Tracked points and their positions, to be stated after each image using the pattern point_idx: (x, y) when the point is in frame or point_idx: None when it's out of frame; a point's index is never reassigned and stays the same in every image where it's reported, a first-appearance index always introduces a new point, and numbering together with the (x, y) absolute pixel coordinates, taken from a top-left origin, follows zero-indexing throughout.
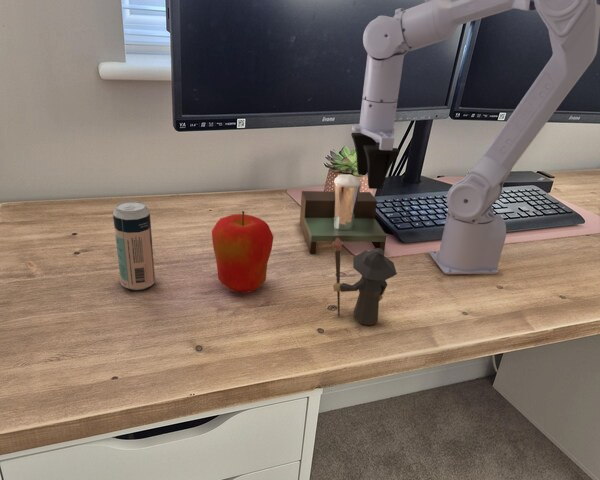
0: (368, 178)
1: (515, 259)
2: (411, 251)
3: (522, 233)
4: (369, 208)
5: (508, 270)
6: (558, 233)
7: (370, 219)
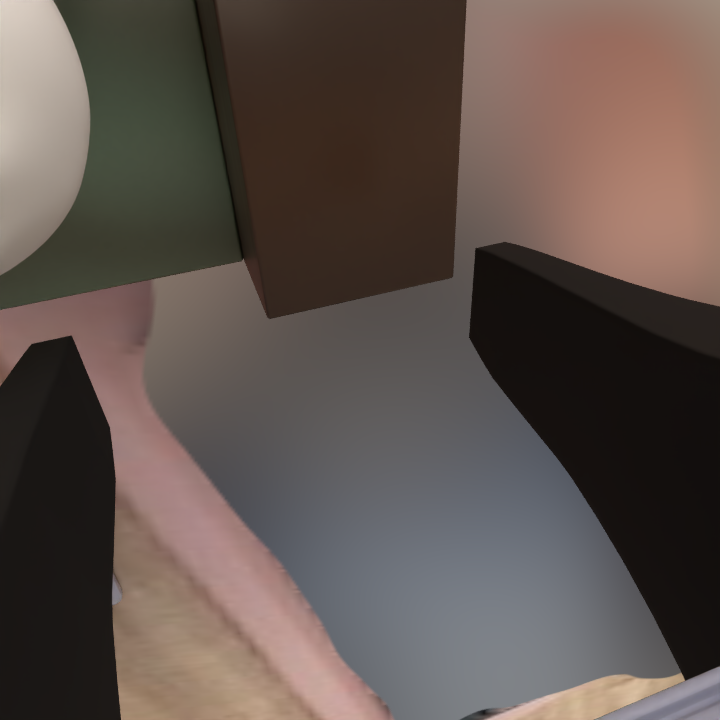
0: (11, 392)
1: (116, 666)
2: None
3: (338, 659)
4: (249, 250)
5: None
6: (347, 712)
7: (211, 234)
